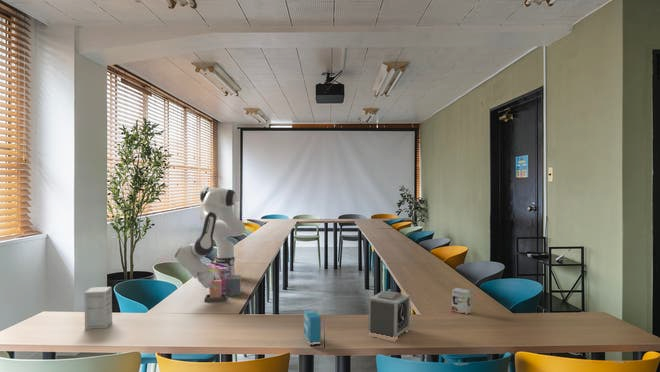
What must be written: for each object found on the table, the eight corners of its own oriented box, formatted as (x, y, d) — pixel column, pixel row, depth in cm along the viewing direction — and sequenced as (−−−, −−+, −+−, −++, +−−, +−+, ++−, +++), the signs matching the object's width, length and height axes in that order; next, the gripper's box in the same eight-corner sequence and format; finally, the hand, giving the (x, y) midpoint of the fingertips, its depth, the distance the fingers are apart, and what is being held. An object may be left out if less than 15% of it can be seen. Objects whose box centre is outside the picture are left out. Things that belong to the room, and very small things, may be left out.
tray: (204, 302, 252) (204, 298, 252) (206, 297, 261) (206, 294, 261) (225, 301, 253) (225, 298, 253) (226, 297, 262) (226, 294, 262)
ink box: (451, 311, 240) (451, 289, 239) (455, 309, 243) (455, 287, 243) (466, 315, 234) (466, 292, 233) (470, 313, 237) (471, 290, 237)
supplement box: (112, 321, 217) (112, 286, 217) (106, 328, 208) (106, 291, 208) (91, 322, 216) (90, 287, 215) (83, 329, 207) (83, 292, 206)
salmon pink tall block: (209, 297, 255) (209, 281, 255) (210, 295, 258) (210, 280, 258) (220, 297, 256) (220, 281, 256) (221, 295, 259) (221, 279, 259)
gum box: (200, 284, 292) (200, 263, 292) (212, 282, 298) (212, 261, 297) (220, 291, 275) (220, 269, 274) (231, 289, 280) (231, 267, 280)
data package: (303, 337, 200) (303, 309, 200) (313, 336, 201) (313, 308, 201) (310, 347, 188) (310, 318, 188) (320, 346, 190) (321, 317, 189)
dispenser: (211, 296, 263) (211, 279, 262) (213, 292, 272) (213, 275, 272) (239, 296, 265) (240, 278, 265) (240, 291, 275) (240, 274, 274)
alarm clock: (394, 342, 195) (395, 299, 195) (366, 336, 202) (367, 294, 202) (410, 329, 211) (411, 290, 210) (384, 324, 218) (385, 286, 217)
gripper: (200, 270, 245) (219, 288, 247) (205, 263, 266) (222, 279, 267) (191, 279, 245) (210, 296, 246) (197, 271, 265) (214, 287, 267)
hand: (216, 287), depth 257 cm, fingers closed on salmon pink tall block, 3 cm apart
